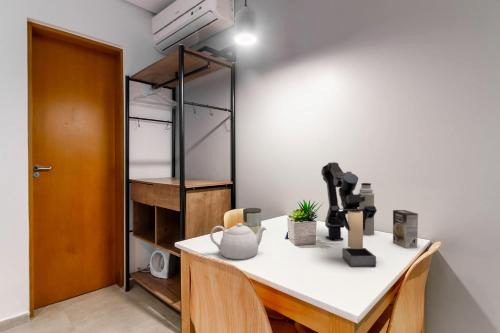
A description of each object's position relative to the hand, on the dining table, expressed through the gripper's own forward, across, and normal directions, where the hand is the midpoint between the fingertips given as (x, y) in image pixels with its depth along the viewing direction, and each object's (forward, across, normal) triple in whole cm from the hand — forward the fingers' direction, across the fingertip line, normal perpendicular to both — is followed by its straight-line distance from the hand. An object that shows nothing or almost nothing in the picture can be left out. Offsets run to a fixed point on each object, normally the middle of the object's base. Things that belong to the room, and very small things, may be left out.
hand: (356, 230), depth 104 cm
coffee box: (-6, +31, +26) cm, 41 cm away
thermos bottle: (-20, +20, +40) cm, 49 cm away
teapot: (+2, -48, +17) cm, 51 cm away
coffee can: (-19, -43, +38) cm, 61 cm away
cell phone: (-17, -21, +37) cm, 46 cm away
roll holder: (+8, +1, +10) cm, 14 cm away
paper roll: (+4, 0, +6) cm, 7 cm away
